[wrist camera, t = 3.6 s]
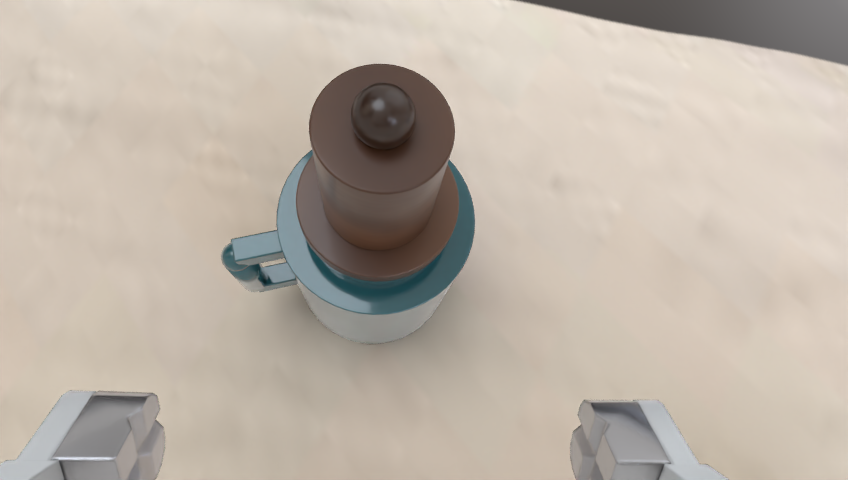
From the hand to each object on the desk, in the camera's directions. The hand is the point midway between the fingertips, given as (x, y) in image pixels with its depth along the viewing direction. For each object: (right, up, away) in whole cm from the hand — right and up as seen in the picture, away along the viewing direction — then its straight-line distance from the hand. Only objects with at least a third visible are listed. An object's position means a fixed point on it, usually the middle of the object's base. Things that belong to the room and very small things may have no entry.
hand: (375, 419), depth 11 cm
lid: (-1, +5, +14) cm, 15 cm away
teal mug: (-3, +1, +24) cm, 25 cm away
